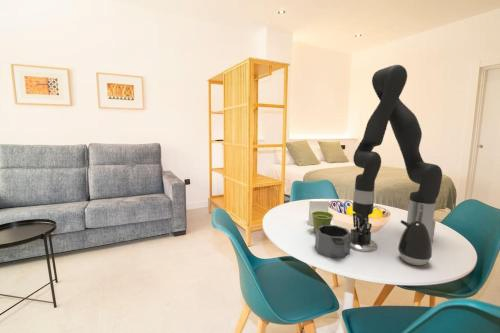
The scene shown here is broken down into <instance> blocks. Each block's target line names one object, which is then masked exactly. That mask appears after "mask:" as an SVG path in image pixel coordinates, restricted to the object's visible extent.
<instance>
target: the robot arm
mask: <svg viewBox="0 0 500 333" xmlns="http://www.w3.org/2000/svg"><path fill="white" fill-rule="evenodd" d="M407 80H408V72H407V69H406V68H405V66H403V65H401V64H394V65H390V66H387V67H383V68H380V69H378V70H377V71H375V72H374V73H373V76H372V78H371V84H372V87H373V90H374V92H375V94H376V96H377V98H378V99H379V103H378V105H377V106H376V108H375V109H374V111H373V113H372V114H371V115H370V117H369V119H368V121H367V123H366V126H365V130H364V133H363V138H362V139H361V140H360V142H359V144H358V146H357V148H356V149H355V151H354V154H353V164H354V165H355V166H356V167H358V168H361V169H363V171H362V173H360V174H357V175H356V176H355V182H354V192H353V197H352V198H353V199H352V221H353V228H354V229H359V243H360V244H364V243H365V235H369V232H371V229H372V227H373V226H372V223H371V222H370V221H369V215H371V214H373V212H374V202H375V182H376V178H377V177H378V174H379V171H380V169H381V166H382V158H381V155H380V154H379V152H377V151H373V150H374V148H375V147H379V146H381V145H382V143H383V141H384V137H385V134H386V131H387V127H388V124H389V123H390V126H391V130H392V133H393V134H394V137H395V139H396V142H397V144H398V147H399V149H400V152H401V156H402V158H403V161H404V164H405V170H406V174H407V176H408V179H410V181H411V182H413V183H415V184H419V188H418V190H417V191H412V192H410V194H409V200H408V209H407V217H406V218H407V219H406V222H407V223H409V224H410V223H411V222H413V221H419V222H422V223H423V224H424V225H425V226H426V227H427V229H428V232H429V235H430V238H431V244H432V243H433V242H434V236H435V228H436V220H435V219H434V217H435V211H436V210H435V208H436V203H437V202H436V201H437V198H438V197H439V194H440V191H441V187H442V186H441V185H442V180H443V171H442V169H441V167H440V166H439V164H433V163H430V162H425V161H424V159H423V158H422V157H423V156H422V154H421V153H420V152H421V151H420V145H421V141H422V138H423V136H422V135H423V134H422V128H421V125H420V122H419V119H418V118H417V116H416V114H415V113H414V112H413V111H412V110H411V109H410V108H409V107H408V106H406V104H404V103H403V101H402V100H401V98H400V96H401V94H402V93H403V90H404V88H405V86H406V83H407Z"/></svg>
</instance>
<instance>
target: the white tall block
mask: <svg viewBox="0 0 500 333" xmlns="http://www.w3.org/2000/svg"><path fill="white" fill-rule="evenodd" d="M329 202H330V201H329V200H328V199H318V198H317V199H309V204H308V224H309V225H310V226H312V227H314V222H313V216H312V212H315V211H324V212H329V205H330V204H329Z"/></svg>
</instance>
